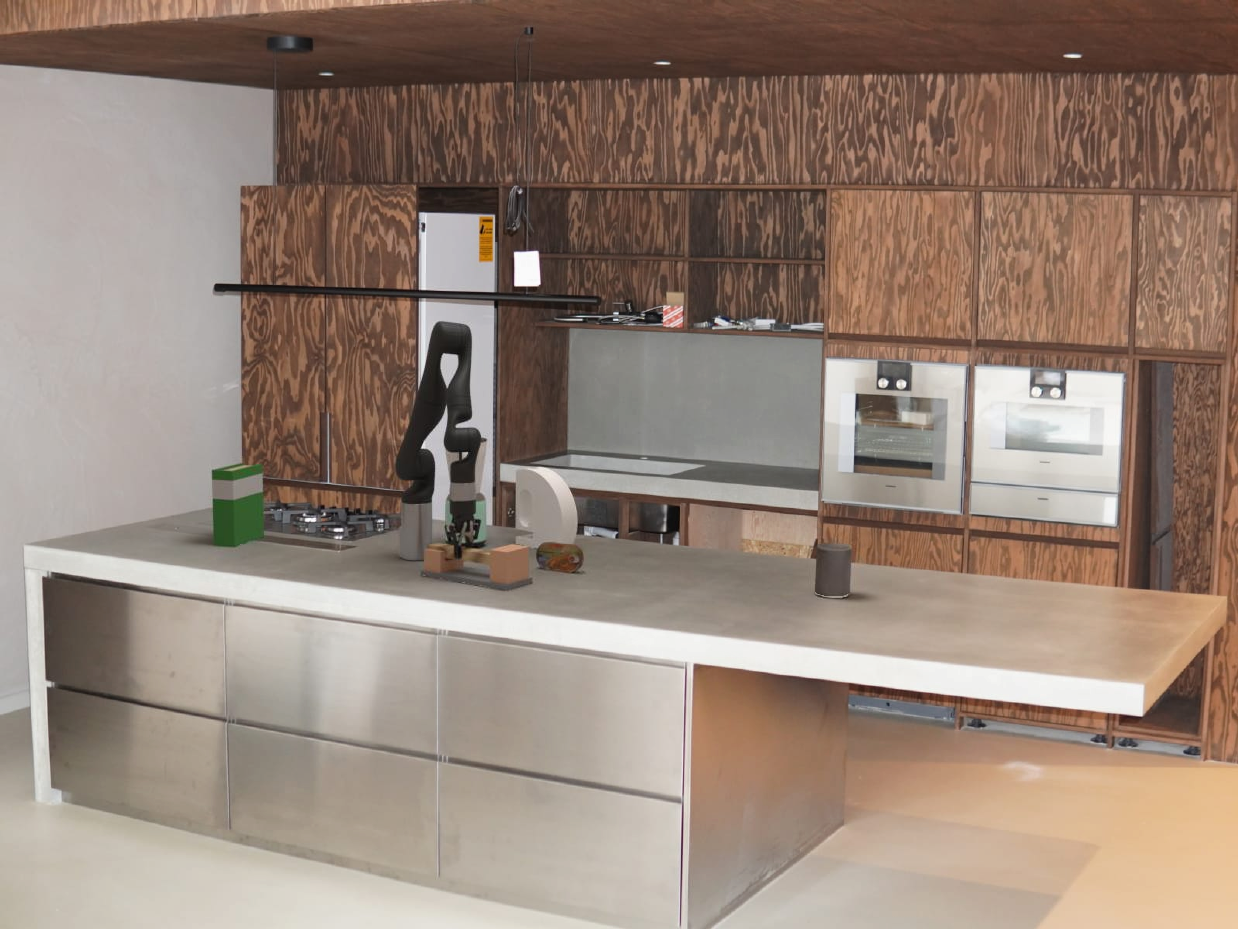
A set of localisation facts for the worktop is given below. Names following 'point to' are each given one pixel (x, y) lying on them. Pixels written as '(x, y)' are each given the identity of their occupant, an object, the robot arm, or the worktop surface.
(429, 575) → the end cap rail
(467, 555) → the slat
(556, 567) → the tin
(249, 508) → the hardback book
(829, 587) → the pillar candle
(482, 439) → the blender
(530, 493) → the bracket
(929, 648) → the worktop surface
